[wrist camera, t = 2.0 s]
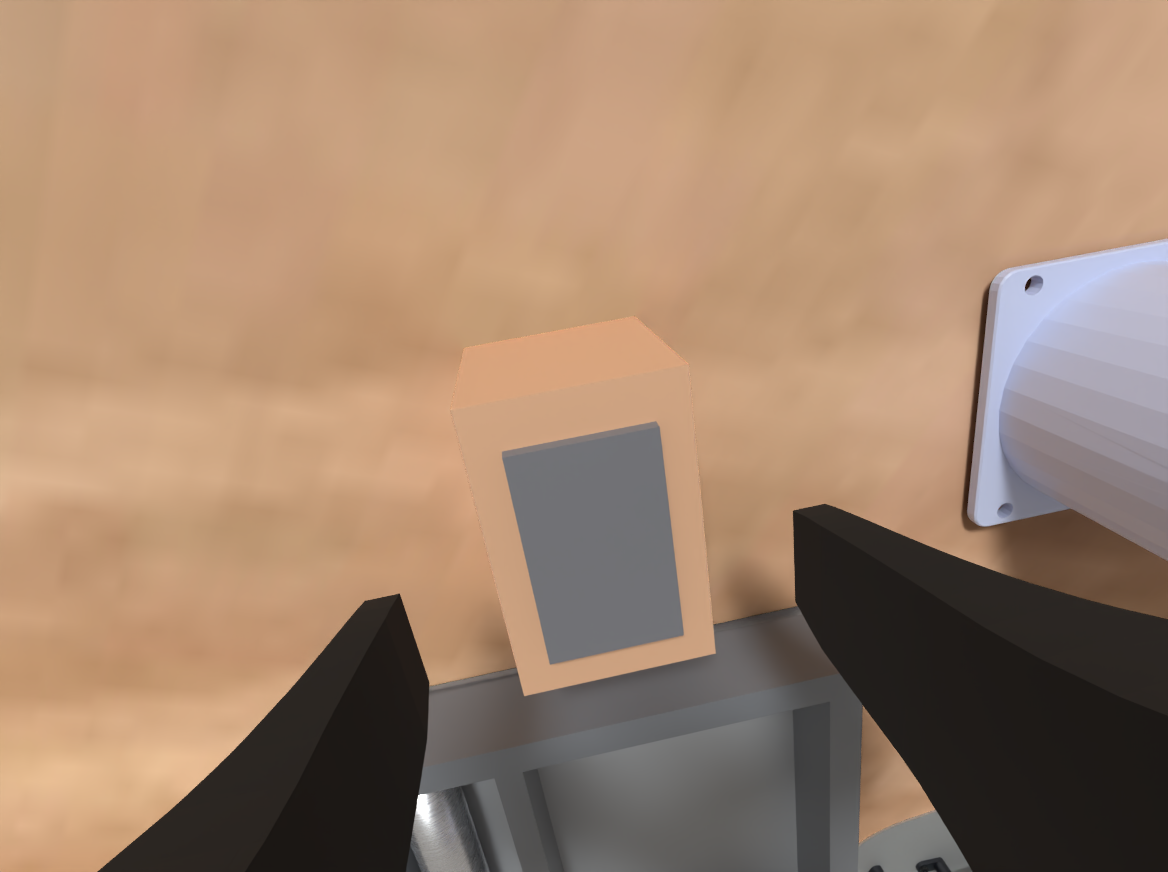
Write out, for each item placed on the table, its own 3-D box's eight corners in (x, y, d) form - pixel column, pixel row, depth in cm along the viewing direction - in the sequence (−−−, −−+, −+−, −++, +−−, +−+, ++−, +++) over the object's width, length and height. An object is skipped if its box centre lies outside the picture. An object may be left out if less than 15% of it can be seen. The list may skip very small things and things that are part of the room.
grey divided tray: (813, 602, 20) (863, 668, 17) (817, 900, 26) (854, 984, 23) (328, 708, 19) (299, 795, 16) (449, 992, 25) (443, 1090, 22)
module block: (634, 315, 16) (694, 368, 11) (662, 540, 19) (720, 663, 14) (464, 347, 16) (449, 415, 11) (517, 570, 18) (524, 706, 13)
